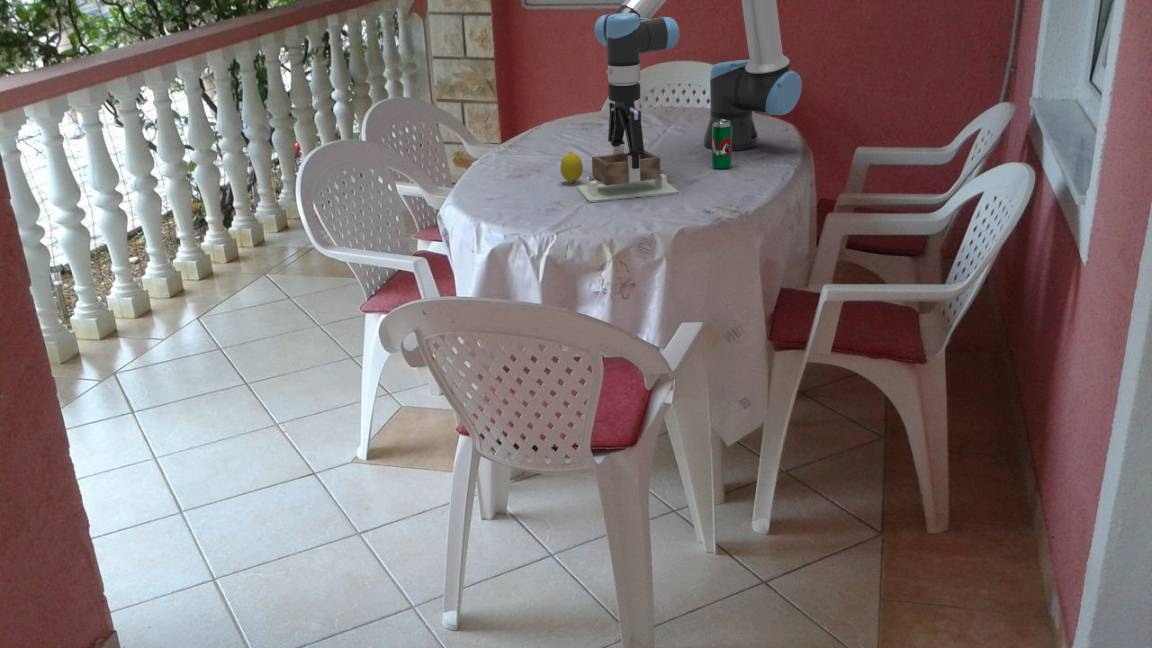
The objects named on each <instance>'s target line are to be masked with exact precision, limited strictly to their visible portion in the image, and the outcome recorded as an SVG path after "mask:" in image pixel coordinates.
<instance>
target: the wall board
mask: <svg viewBox="0 0 1152 648" xmlns="http://www.w3.org/2000/svg"><path fill="white" fill-rule="evenodd" d="M667 180H668V179H667V175H666V174H665V173H664V169H661V168H660V179H652V180H645V181H638V182H630V183H623V184H615V185H608V186H606V185H604V184H603V183H598V182H597V180H596V179H595V177H594V176H593V175H591V176H588V177H586V184H585V185H584V184H583V185H576V186H575V187H576V189H577V190H578V191H580V192H581V193H582V194H583V195H582V194H581V195H582V196H583V197H584V199H585V198H586V199H587V200H588V201H589V202H593V203H595V202H594V201H602V202H608V201H607V200H612V201H617V200H616V199H622V200H626V199H625V198H632V199H636V198H635V197H641V198H648V197H647V196H651V197H659V196H660V195H661V196H669V194H670V195H677V194H679V192H680V191H679V190H677V189H676V188H675V187H674V186H672V185H671V183H669V182H668V181H667ZM580 192H579V193H580ZM586 199H585V200H586ZM587 200H586V201H587ZM588 201H587V202H588ZM589 202H588V203H589Z"/></svg>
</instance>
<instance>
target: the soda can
mask: <svg viewBox="0 0 1152 648" xmlns="http://www.w3.org/2000/svg"><path fill="white" fill-rule="evenodd" d="M732 156H733V150H732V124H731V121H729V120H716V121H714V124H713V125H712V149H711V167H713V169H716V170H728V169H730V168H731V167H732V161H733V160H732Z"/></svg>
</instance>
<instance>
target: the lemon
mask: <svg viewBox="0 0 1152 648" xmlns="http://www.w3.org/2000/svg"><path fill="white" fill-rule="evenodd" d="M583 166H584V165H583V162H582V159H581V157H580V156H579V155H578V154H576V153H573V151H569V153H567V154H565V155H564V156H563V157H562V159H561V162H560V173H561V175H562V177H563V179H564V180H566V181H568V182H569V183H570V184H574V183H575V182H576V181H577V180H579V179H580V177H582V174H583V169H584V168H583Z"/></svg>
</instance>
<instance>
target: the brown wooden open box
mask: <svg viewBox="0 0 1152 648" xmlns="http://www.w3.org/2000/svg"><path fill="white" fill-rule="evenodd" d="M628 153H630V152H624V153H620V154H613V153H612V154H606V155H598V156H597V155H596V156H592V157H591V165H592V166H591V167H592V170H591V171H592V176H594V177H595V181H598V182H600V184H604V185H606V186H608V185H615V184H623V183H630V182H629V175H628V156H627V154H628ZM660 169H661V157H659V156H657V155H655V154H653V153H651V152H650V151H647V150H645V149H644V153H641V154H640V181H645V180H652V179H660ZM637 182H638V181H637Z"/></svg>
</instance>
